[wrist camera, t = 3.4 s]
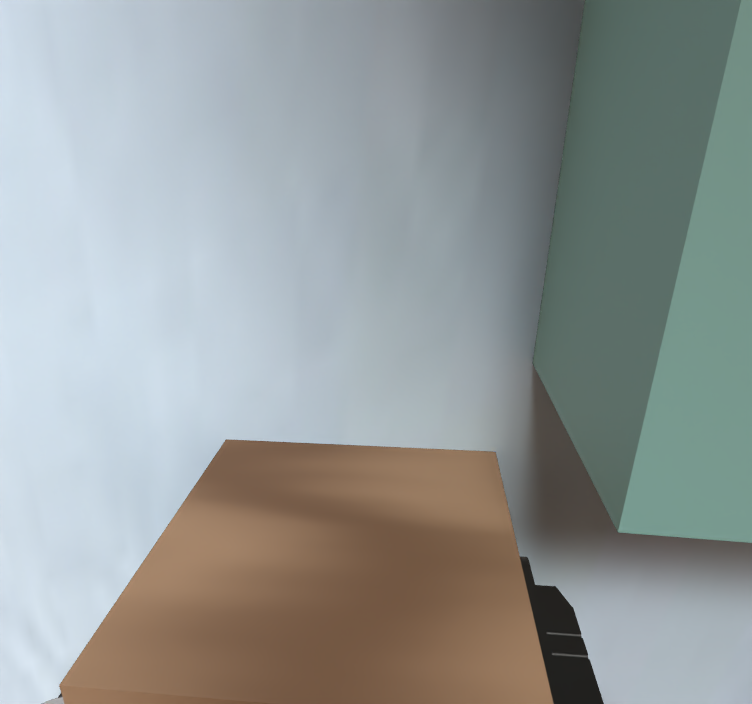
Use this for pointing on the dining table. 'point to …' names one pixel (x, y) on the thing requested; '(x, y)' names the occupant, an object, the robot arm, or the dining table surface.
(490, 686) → the walnut block
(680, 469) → the base block
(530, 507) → the dining table surface
